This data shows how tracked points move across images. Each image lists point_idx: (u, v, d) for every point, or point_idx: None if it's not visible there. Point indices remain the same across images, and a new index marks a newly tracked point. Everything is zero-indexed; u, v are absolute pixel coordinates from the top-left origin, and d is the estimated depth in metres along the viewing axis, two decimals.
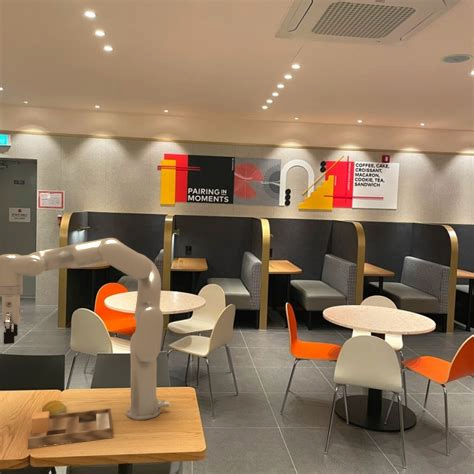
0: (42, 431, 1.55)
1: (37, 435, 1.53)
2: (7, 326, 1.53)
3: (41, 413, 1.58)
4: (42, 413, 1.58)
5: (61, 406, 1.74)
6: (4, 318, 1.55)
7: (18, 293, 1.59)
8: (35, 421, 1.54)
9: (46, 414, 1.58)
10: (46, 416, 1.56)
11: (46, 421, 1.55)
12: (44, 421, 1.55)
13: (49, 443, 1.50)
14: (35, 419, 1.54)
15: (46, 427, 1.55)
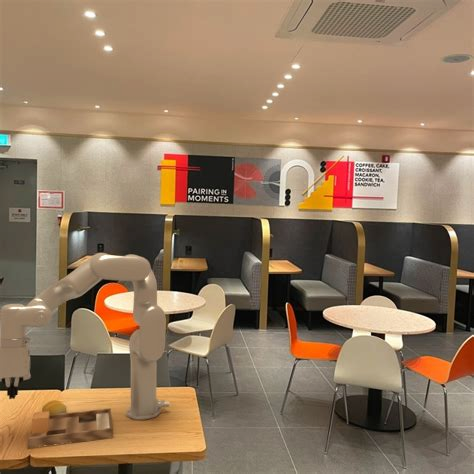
0: (42, 431, 1.55)
1: (37, 435, 1.53)
2: None
3: (41, 413, 1.58)
4: (42, 413, 1.58)
5: (61, 406, 1.74)
6: None
7: None
8: (35, 421, 1.54)
9: (46, 414, 1.58)
10: (46, 416, 1.56)
11: (46, 421, 1.55)
12: (44, 421, 1.55)
13: (49, 443, 1.50)
14: (35, 419, 1.54)
15: (46, 427, 1.55)
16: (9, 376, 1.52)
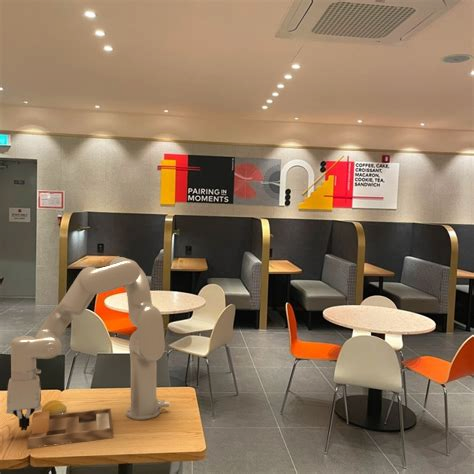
0: (42, 431, 1.55)
1: (37, 435, 1.53)
2: None
3: (41, 413, 1.58)
4: (42, 413, 1.58)
5: (61, 406, 1.75)
6: None
7: None
8: (35, 421, 1.54)
9: (46, 414, 1.58)
10: (46, 416, 1.56)
11: (46, 421, 1.55)
12: (44, 421, 1.55)
13: (49, 443, 1.50)
14: (35, 419, 1.54)
15: (46, 427, 1.55)
16: (21, 408, 1.53)
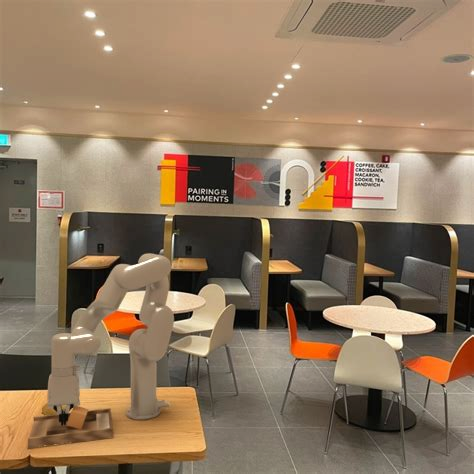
0: (76, 426, 1.58)
1: (37, 435, 1.53)
2: None
3: (80, 408, 1.61)
4: (82, 409, 1.61)
5: None
6: None
7: None
8: (73, 414, 1.57)
9: (85, 411, 1.60)
10: (84, 413, 1.58)
11: (83, 418, 1.58)
12: (82, 417, 1.58)
13: (49, 443, 1.50)
14: (74, 413, 1.57)
15: (81, 424, 1.58)
16: (61, 403, 1.57)
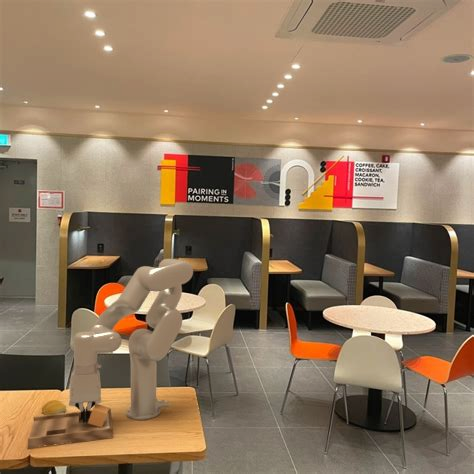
0: (97, 424, 1.59)
1: (37, 435, 1.53)
2: None
3: (101, 406, 1.63)
4: (103, 407, 1.63)
5: (61, 406, 1.75)
6: None
7: None
8: (95, 412, 1.59)
9: (105, 409, 1.62)
10: (105, 412, 1.60)
11: (104, 417, 1.59)
12: (103, 416, 1.59)
13: (49, 443, 1.50)
14: (96, 411, 1.59)
15: (102, 422, 1.59)
16: (83, 401, 1.59)
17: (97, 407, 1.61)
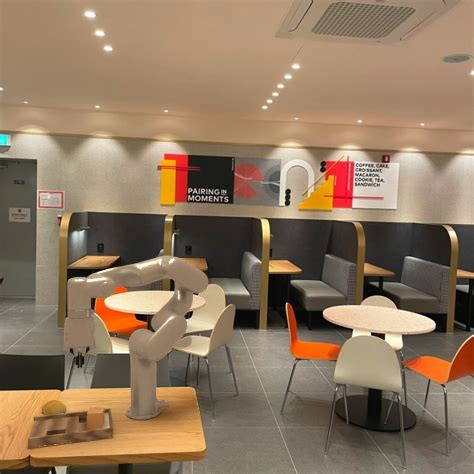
0: (96, 426, 1.59)
1: (37, 435, 1.53)
2: None
3: (96, 408, 1.63)
4: (98, 408, 1.63)
5: (61, 406, 1.75)
6: None
7: None
8: (90, 415, 1.59)
9: (100, 409, 1.62)
10: (100, 412, 1.60)
11: (100, 417, 1.59)
12: (98, 416, 1.59)
13: (49, 443, 1.50)
14: (90, 414, 1.59)
15: (100, 422, 1.59)
16: (77, 346, 1.58)
17: (91, 410, 1.61)
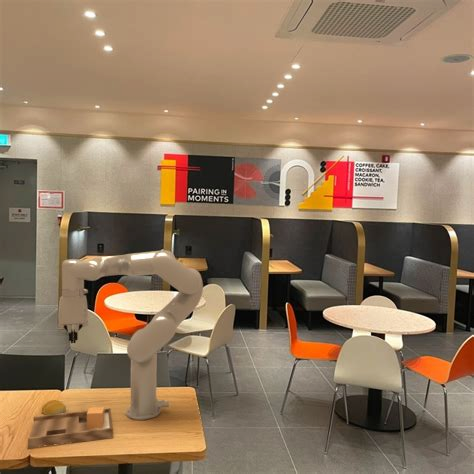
0: (96, 426, 1.59)
1: (37, 435, 1.53)
2: None
3: (96, 408, 1.63)
4: (98, 408, 1.63)
5: (61, 406, 1.75)
6: None
7: None
8: (90, 415, 1.59)
9: (100, 409, 1.62)
10: (100, 412, 1.60)
11: (100, 417, 1.59)
12: (98, 416, 1.59)
13: (49, 443, 1.50)
14: (90, 414, 1.59)
15: (100, 422, 1.59)
16: (71, 323, 1.70)
17: (91, 410, 1.61)
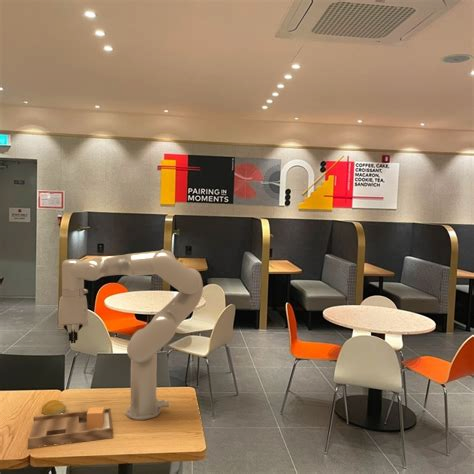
0: (96, 426, 1.59)
1: (37, 435, 1.53)
2: None
3: (96, 408, 1.63)
4: (98, 408, 1.63)
5: (61, 405, 1.75)
6: None
7: None
8: (90, 415, 1.59)
9: (100, 409, 1.62)
10: (100, 412, 1.60)
11: (100, 417, 1.59)
12: (98, 416, 1.59)
13: (49, 443, 1.50)
14: (90, 414, 1.59)
15: (100, 422, 1.59)
16: (71, 323, 1.70)
17: (91, 410, 1.61)
